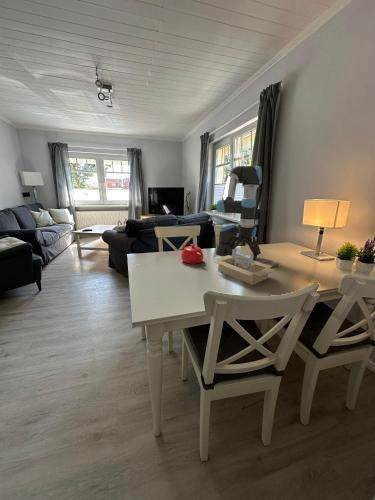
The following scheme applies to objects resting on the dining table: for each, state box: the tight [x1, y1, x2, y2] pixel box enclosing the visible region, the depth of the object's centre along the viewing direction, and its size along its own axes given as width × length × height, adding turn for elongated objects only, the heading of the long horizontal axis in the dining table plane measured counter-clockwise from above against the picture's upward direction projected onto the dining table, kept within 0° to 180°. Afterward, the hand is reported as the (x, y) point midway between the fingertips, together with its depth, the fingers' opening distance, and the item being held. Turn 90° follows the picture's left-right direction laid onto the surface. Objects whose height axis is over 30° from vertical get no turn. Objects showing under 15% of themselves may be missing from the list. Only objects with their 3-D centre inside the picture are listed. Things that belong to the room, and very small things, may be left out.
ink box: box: [235, 253, 252, 272], centre depth 125 cm, size 9×5×12 cm, turn 62°
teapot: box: [180, 243, 204, 265], centre depth 146 cm, size 25×16×12 cm, turn 31°
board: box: [256, 258, 279, 269], centre depth 144 cm, size 14×14×1 cm
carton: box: [213, 255, 275, 286], centre depth 126 cm, size 33×22×7 cm, turn 39°
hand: (242, 262), depth 124 cm, fingers open, 13 cm apart
